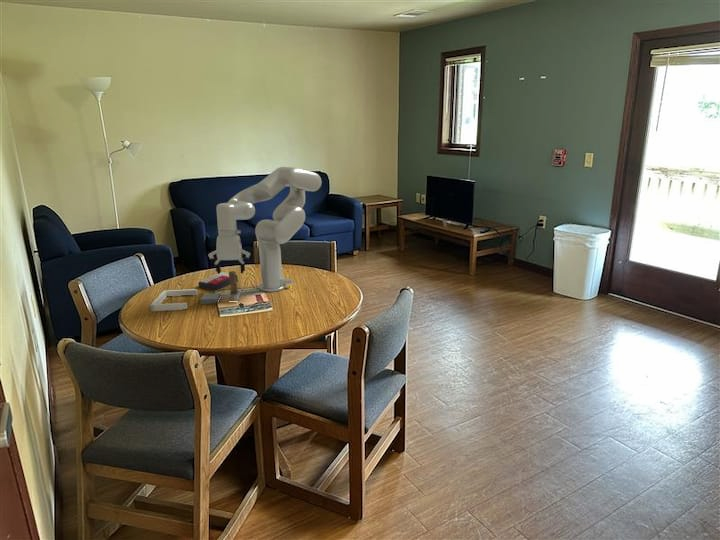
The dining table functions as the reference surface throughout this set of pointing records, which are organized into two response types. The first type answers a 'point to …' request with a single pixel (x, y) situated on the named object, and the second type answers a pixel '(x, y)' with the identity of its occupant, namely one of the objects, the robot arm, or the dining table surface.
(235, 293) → the scraper
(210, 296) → the tile
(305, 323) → the dining table surface
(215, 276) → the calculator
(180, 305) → the bay
